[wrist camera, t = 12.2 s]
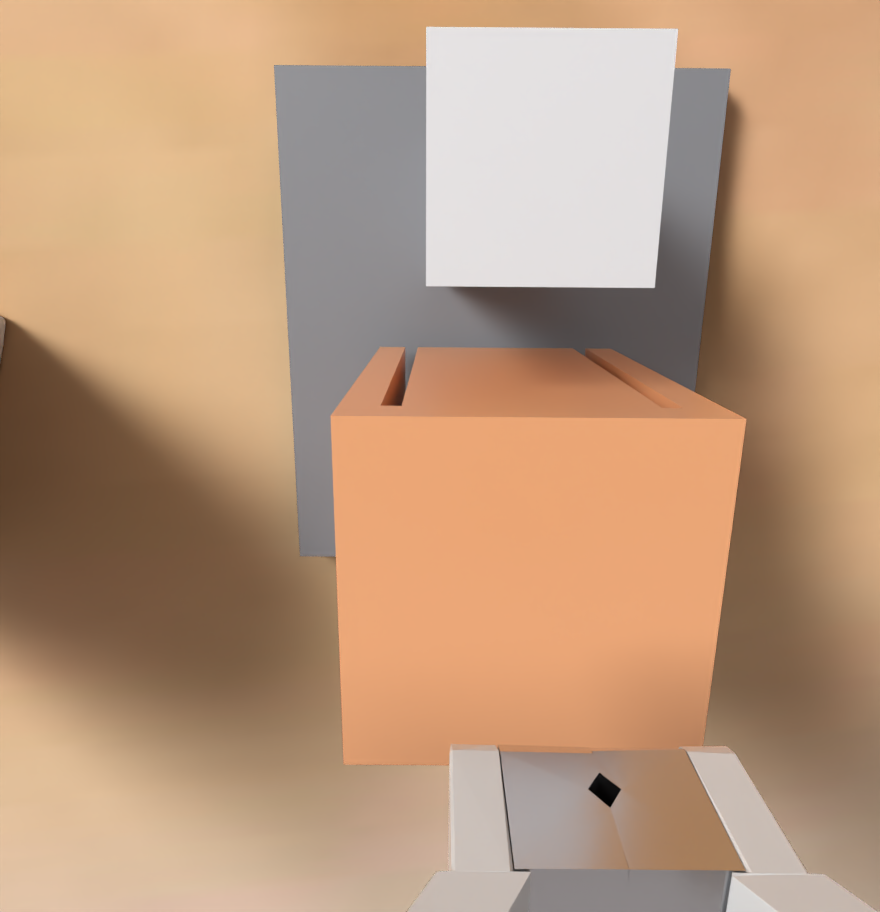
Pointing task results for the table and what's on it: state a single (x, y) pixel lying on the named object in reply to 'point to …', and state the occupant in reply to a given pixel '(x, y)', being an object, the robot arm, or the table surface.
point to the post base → (492, 211)
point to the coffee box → (2, 334)
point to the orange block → (527, 552)
